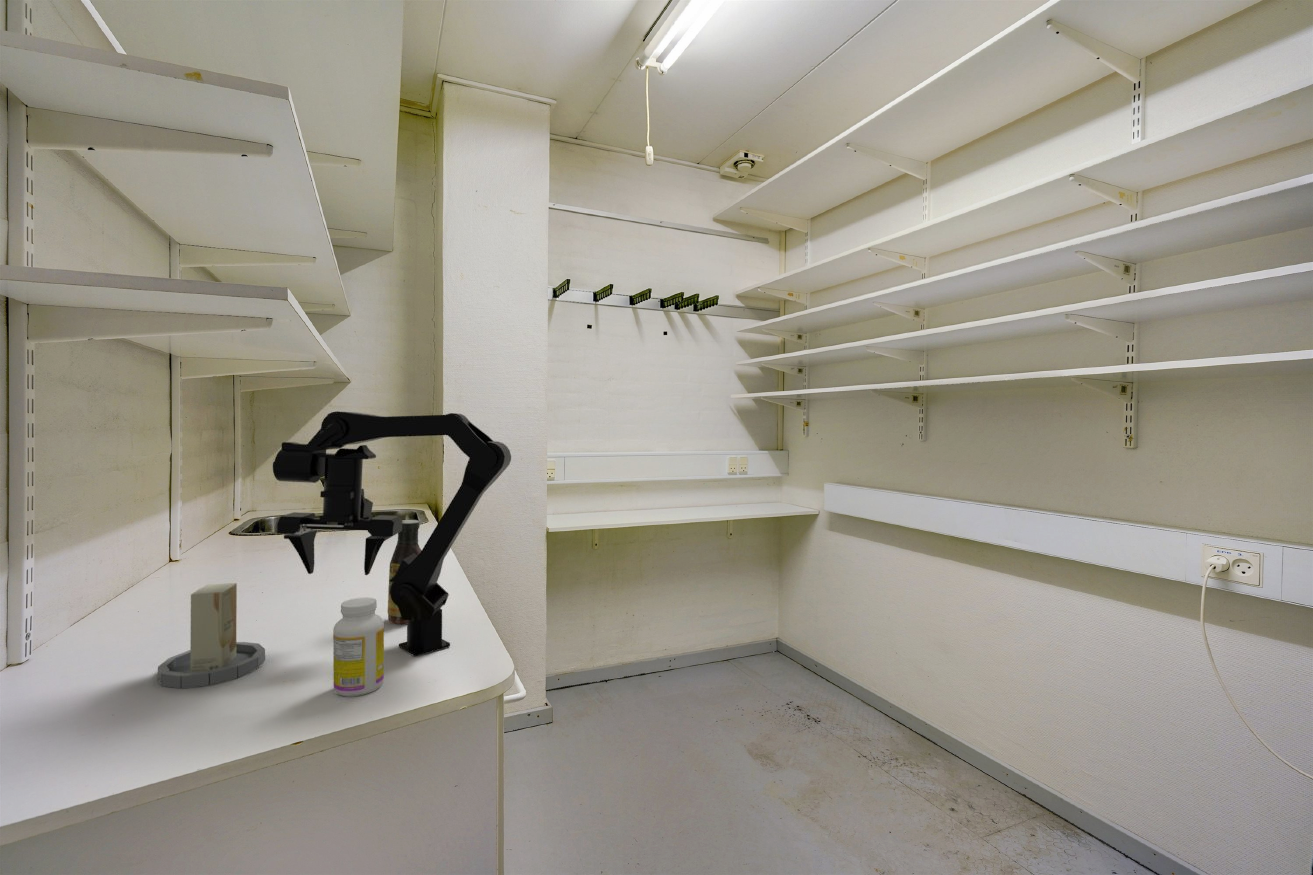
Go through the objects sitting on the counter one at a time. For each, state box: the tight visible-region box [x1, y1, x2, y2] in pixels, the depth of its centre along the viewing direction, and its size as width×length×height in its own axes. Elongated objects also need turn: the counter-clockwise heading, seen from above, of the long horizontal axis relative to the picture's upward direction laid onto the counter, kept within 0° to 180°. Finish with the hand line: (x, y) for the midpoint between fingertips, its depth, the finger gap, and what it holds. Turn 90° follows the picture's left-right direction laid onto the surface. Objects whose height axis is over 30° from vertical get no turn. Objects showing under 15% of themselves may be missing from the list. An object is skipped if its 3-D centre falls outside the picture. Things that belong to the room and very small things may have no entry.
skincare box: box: [189, 582, 238, 673], centre depth 91 cm, size 6×4×12 cm
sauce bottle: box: [387, 519, 422, 625], centre depth 114 cm, size 6×6×20 cm
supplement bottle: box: [332, 597, 385, 698], centre depth 85 cm, size 7×7×13 cm
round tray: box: [157, 641, 266, 689], centre depth 91 cm, size 13×13×2 cm
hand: (339, 573), depth 100 cm, fingers open, 9 cm apart
